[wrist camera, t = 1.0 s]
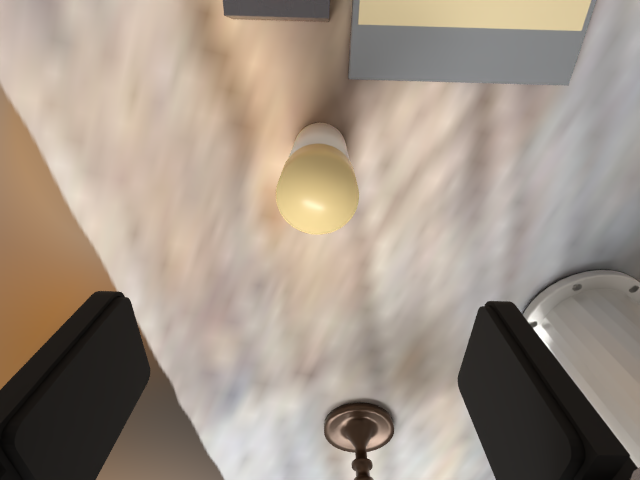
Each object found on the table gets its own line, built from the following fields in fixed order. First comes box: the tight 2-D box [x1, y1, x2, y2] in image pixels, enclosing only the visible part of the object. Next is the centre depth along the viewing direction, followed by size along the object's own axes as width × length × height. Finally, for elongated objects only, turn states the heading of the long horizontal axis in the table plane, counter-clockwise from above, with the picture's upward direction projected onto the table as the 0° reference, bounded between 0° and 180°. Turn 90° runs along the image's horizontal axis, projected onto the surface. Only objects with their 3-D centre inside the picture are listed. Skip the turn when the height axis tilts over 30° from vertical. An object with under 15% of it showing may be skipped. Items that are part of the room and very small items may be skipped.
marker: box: [276, 123, 359, 235], centre depth 24 cm, size 5×5×11 cm
